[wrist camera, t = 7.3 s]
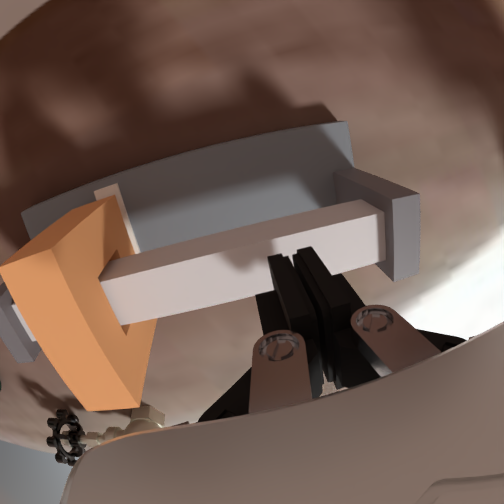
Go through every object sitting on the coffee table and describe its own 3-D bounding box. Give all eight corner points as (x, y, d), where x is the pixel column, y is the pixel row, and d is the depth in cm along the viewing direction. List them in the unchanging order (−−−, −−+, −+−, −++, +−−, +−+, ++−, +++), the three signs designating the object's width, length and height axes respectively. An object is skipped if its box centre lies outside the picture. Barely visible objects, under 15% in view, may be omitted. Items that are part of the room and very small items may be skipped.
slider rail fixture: (338, 120, 18) (414, 124, 11) (354, 257, 22) (414, 321, 15) (30, 206, 18) (-42, 253, 10) (81, 322, 22) (44, 398, 14)
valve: (155, 393, 26) (56, 397, 25) (148, 450, 20) (38, 444, 19) (177, 430, 29) (84, 432, 28) (175, 482, 22) (73, 476, 22)
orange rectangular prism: (115, 194, 16) (51, 248, 9) (158, 312, 19) (139, 407, 12) (72, 209, 16) (-3, 267, 9) (119, 320, 19) (87, 411, 12)
